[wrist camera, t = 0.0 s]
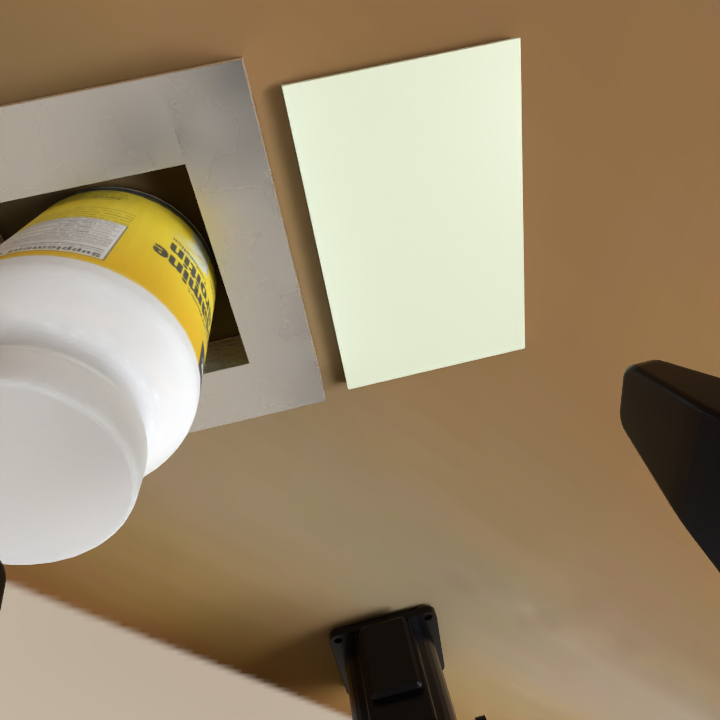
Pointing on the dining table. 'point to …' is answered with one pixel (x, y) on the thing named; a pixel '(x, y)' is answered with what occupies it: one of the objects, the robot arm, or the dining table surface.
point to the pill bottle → (95, 364)
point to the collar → (216, 202)
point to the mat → (417, 207)
